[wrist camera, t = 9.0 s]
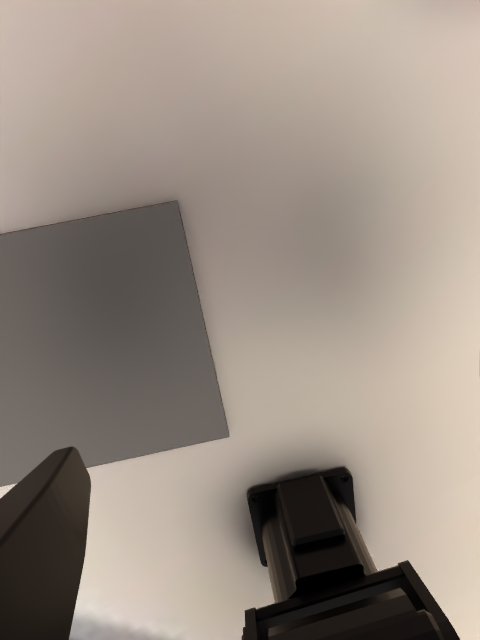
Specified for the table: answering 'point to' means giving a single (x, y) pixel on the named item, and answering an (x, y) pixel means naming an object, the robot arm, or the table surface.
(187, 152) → the table surface
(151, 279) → the mat
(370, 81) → the table surface
